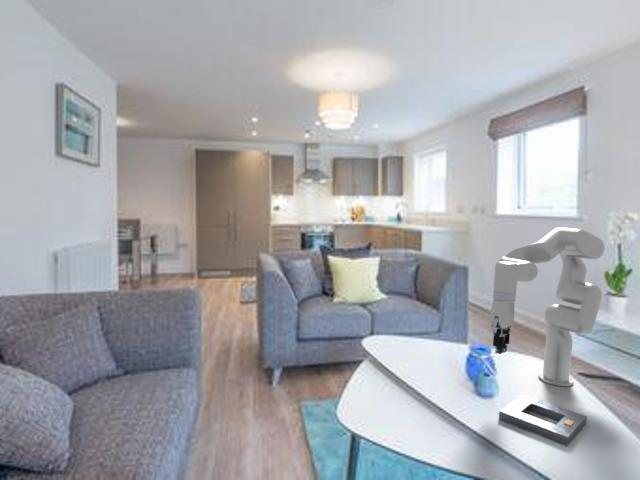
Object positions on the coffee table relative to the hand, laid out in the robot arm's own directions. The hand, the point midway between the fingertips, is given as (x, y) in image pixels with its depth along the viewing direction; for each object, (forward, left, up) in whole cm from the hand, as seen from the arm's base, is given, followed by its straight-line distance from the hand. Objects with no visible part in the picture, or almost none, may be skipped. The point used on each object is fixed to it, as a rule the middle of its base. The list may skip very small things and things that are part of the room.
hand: (501, 344), depth 159 cm
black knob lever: (+1, 0, -3) cm, 3 cm away
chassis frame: (+4, +17, -21) cm, 28 cm away
